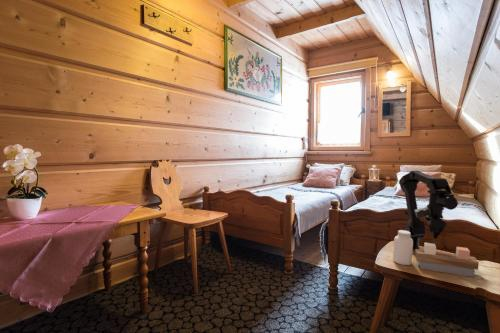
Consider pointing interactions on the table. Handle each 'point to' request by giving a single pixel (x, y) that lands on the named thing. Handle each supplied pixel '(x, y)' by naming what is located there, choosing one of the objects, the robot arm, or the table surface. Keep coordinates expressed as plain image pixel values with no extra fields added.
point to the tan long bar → (446, 259)
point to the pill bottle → (403, 248)
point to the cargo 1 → (429, 248)
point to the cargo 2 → (462, 253)
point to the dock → (447, 268)
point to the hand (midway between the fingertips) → (433, 235)
